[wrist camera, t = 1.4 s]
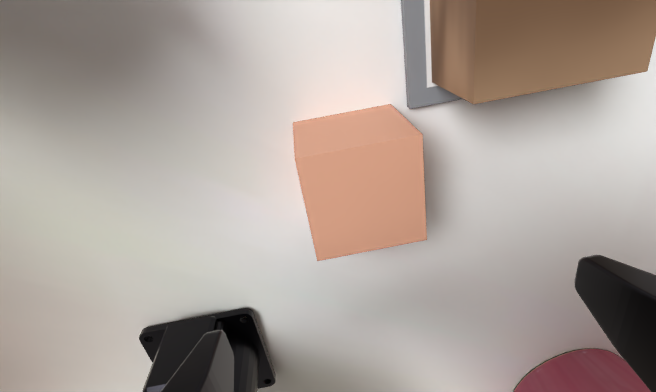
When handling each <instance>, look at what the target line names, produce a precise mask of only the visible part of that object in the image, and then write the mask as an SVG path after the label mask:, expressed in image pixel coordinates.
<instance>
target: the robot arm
mask: <svg viewBox="0 0 656 392" xmlns="http://www.w3.org/2000/svg"><path fill="white" fill-rule="evenodd" d="M575 288H576V291H577V293H578V294H579V296H580V297H581V299H582V300H583V302H584V303H585V305H586V306H587V307H588V309H589V310H590V312H591V313H592V315H593V316H594V318H595V319H596V321H597V322H598V324H599V325H600V327H601V328H602V330H603V331H604V333H605V334H606V336H607V337H608V338H609V340H610V341H611V343H612V344H613V345H614V347H615V348H616V349H617V351H618V352H619V353H620V354H621V356H622V357H623V358H624V359H625V361H626V362H627V363H628V364H629V366H630V367H631V368H632V369H633V370H634V372H635V373H636V374H637V375H638V376H639V378H640V379H641V380H642V381H643V383H644V384H645V385H646V386H647V387H648V389H649V390H650V391H651V392H656V275H654V274H651V273H648V272H645V271H643V270H640V269H637V268H634V267H632V266H629V265H626V264H623V263H620V262H618V261H615V260H612V259H609V258H607V257H604V256H601V255H593V256H588V257H583V258H581V259H580V260H579V263H578V268H577V273H576V278H575ZM242 317H247V318H242ZM139 340H140V342H141V344H142V345H143V347H144V349H145V350H146V352H147V354H148V356H149V357H150V359H151V361H152V362H153V364H152V367H151V369H150V372H149V375H148V377H147V380H146V383H145V385H144V388H143V392H257V389H258V388H263V387H268V386H272V385H273V384H274V383H275V372H274V369H273V367H272V364H271V361H270V358H269V355H268V353H267V350H266V347H265V344H264V341H263V338H262V336H261V333H260V330H259V327H258V324H257V322H256V319H255V316H254V313H253V312H252V311H251V310H250V309H246V308H245V309H238V310H233V311H228V312H223V313H218V314H213V315H208V316H202V317H197V318H192V319H187V320H182V321H177V322H172V323H167V324H162V325H156V326H151V327H147V328H144V329H143V330H142V332H141V334H140V337H139Z"/></svg>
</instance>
